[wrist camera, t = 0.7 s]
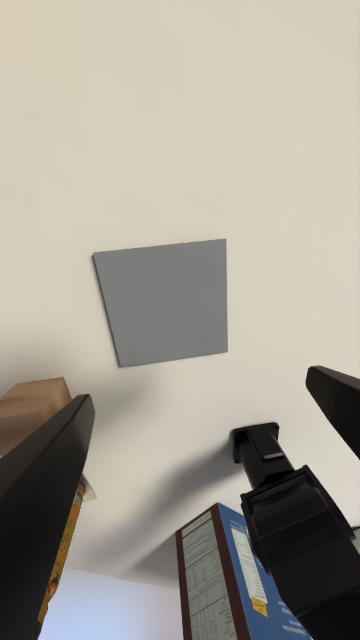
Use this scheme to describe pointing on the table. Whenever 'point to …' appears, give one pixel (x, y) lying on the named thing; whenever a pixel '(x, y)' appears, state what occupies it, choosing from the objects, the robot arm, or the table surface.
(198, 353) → the slate pad
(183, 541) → the protein box
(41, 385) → the walnut cube
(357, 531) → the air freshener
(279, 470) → the robot arm
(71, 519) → the condiment
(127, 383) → the table surface
